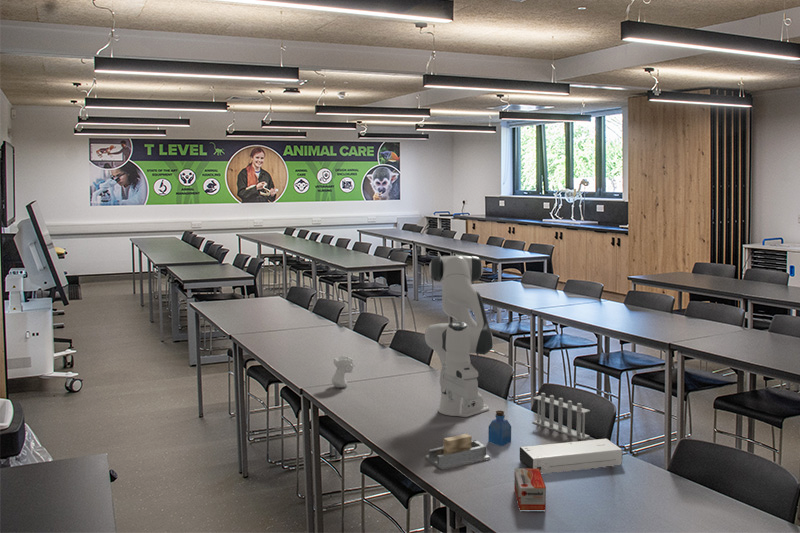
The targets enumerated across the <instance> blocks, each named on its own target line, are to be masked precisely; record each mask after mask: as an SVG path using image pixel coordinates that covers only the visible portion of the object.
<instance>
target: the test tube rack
mask: <svg viewBox="0 0 800 533" xmlns="http://www.w3.org/2000/svg"><path fill="white" fill-rule="evenodd" d="M532 399H533V400H537V419H536V420H533V421H532V422H531V423H532V424H535V425H536V426H540V427H543V428H546V429H549V430H551V431H554V432H557V433H560V434H564V435H567V436H569V437H573V438H575V439H578V440H581V441H585V440H587V439H589V438H590V436H591V435H589V434H586V433H585V424H586V422H585V420H586V413H587V414H588V413H589V412H590V411H591V410H590V409H587V408H583V404H582V403H581V402H577V404H576V405H573V401H572V400H567V403H566V402H564V398H563V397H558V400H557V399H555V396H554V395H553V394H551V395H549V397H546V393H545V392H541V393H540V395H538V396H533V398H532ZM546 404H549V407H548V408H549V410H548V411H549V412H548V414H549V418H548V419H549V421H546ZM555 406H556V407H558V410H557V413H558V414H557V416H558V417H557V424H555V423H554V421H555V420H554V418H555V417H554V416H555V414H554V412H555ZM564 409H566V410H567V411H566V412H567V415H566V416H567V417H566V418H567V420H566V421H567V423H566V427H564V426H563V421H564V420H563V416H564V413H563V412H564ZM573 411H574V412H576V430H573V429H572V428H573V427H572V426H573V425H572V424H573V422H572V421H573Z"/></svg>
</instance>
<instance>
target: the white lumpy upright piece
mask: <svg viewBox="0 0 800 533" xmlns="http://www.w3.org/2000/svg"><path fill="white" fill-rule="evenodd" d="M333 365H334V366H335V367H336V370H335V373H334V375H333V376H332V378H331V384H332V385H333V387H335V388H347V387H348V382H347V380H346V378H345V375H346V373H347V374H351V373H353V371H354V367H355V364H354V362H353V358H352V357H349V356H346V355H341V356H338V357H337V358H336V357H334V358H333Z"/></svg>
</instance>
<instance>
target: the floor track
mask: <svg viewBox="0 0 800 533" xmlns="http://www.w3.org/2000/svg"><path fill="white" fill-rule="evenodd" d="M425 459H426V460H428V462H430V463H431V464H433V465H434V466H436V467H437V468H439V469H440V470H442V471H446V470H449V469H448V468H450V469H453V467H454V468H457V466H459V467H463V466H466V464H467V465H471V464H470V463H472V464H475V463H474V462H476V463H479V462H478V461H480V462H483V461H482V460H484V461H487V460H486V459H489V460H491V456H489V454H487V445H486V444H483V443H481V442H480V441H478V440H476V439H473V440H472V448H469V449H464V450H460V451H455V452H451V453H446V454H444V446H440V447H435V448H431V449H428V454H426V455H425ZM462 465H463V466H462ZM445 469H446V470H445Z"/></svg>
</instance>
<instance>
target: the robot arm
mask: <svg viewBox="0 0 800 533" xmlns="http://www.w3.org/2000/svg"><path fill="white" fill-rule="evenodd" d="M428 272H429V275H430V278H431V279H432V281H435V282H442V287H441V288H442V292H441V295H442V296H441V297H442V299H441V300H442V301H441V308H442V311H443V312H444V314H446V315H447V316H448V317H450V318H453V319H455V320H456V321H452V322H450V323H449V322H447V323H444V322H443V323H435V324H429V325H428V327H427V328H426V330H425V332H424V340H425V343H426V345H427V346H428V347H429V348H431V349H432V350H433V351H434V352H435V353H436V354H437V356H438V358H439V361H440V364H441V369H440V372H439V385H440V392H441V394H440V395H441V396H440V401H439V407H438V409H437V410H438V412H439V414H441V415H445V416H453V417H462V418H467V417H470V416H473V415H479V414H480V413H484V412H486V411H489V410H490V408H489V406H488V404H486V403H484V402H485V401H484V398H483V395H482V394H481V393H480V392H479V381H478V377H479V371H478V370H477V369H476V368H475V367H474V366H473V364H472V363H471V357H470V356H471V355H470V354H476V355H484V356H485V355H487V354H488V353H489V352H490V351H491V350H492V349H493V346H494V337H493V336H494V335H493V333H492V331H491V328H490V325H489V321H488V318H487V313H486V310H485V306H484V303H483V302H484V301H483V298H482V296H481V294H480V292H478V291H477V290H476V289H475V288H474V287H473V285H472V283H474V282H478V281H479V280H480V279H481V278H482V275H483V274H484V264H483V262H482V259H481V258H480V257H478V256H474V255H471V256H469V255H459V254H457V255H444V256H441V255H438V256H435V257H433V258H432V259H431V261H430V263H429V266H428ZM470 311H471V312H472V313H473V314H474V318H475V319H474V318H473V317H472V315H471V313H470Z"/></svg>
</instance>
